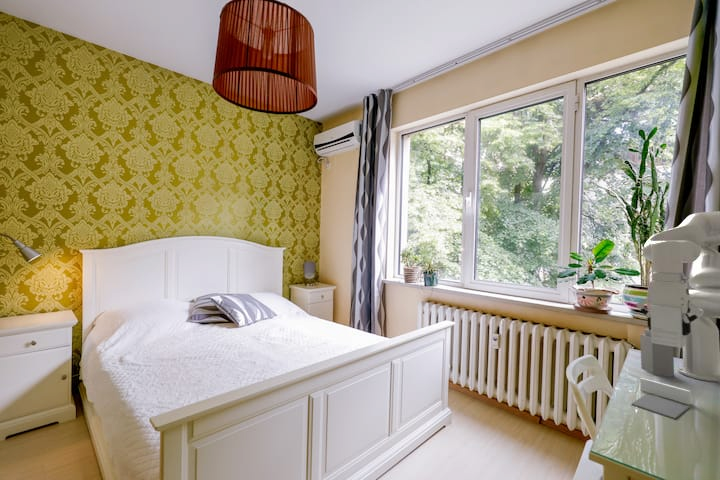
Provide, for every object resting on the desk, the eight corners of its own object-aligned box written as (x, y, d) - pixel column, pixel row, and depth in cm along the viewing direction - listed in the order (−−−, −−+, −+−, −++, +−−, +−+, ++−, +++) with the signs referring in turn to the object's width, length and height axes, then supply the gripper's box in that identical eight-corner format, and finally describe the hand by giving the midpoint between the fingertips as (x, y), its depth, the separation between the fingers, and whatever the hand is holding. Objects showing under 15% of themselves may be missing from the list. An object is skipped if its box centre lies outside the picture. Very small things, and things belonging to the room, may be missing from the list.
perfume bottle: (674, 375, 121) (672, 327, 121) (653, 374, 122) (651, 326, 122) (661, 368, 127) (659, 322, 128) (641, 367, 129) (639, 322, 129)
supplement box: (687, 344, 106) (686, 305, 106) (681, 348, 101) (680, 308, 102) (657, 339, 112) (656, 302, 112) (650, 342, 107) (649, 304, 108)
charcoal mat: (647, 394, 106) (647, 393, 106) (689, 407, 97) (689, 406, 97) (631, 404, 100) (631, 403, 100) (675, 419, 91) (675, 417, 91)
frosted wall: (642, 389, 110) (641, 377, 110) (691, 403, 100) (690, 390, 100) (640, 390, 109) (640, 378, 109) (689, 404, 99) (689, 391, 99)
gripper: (708, 279, 101) (710, 336, 101) (639, 275, 116) (640, 325, 116) (700, 280, 98) (702, 340, 97) (629, 276, 113) (630, 327, 112)
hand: (668, 331), depth 107 cm, fingers closed on supplement box, 7 cm apart
